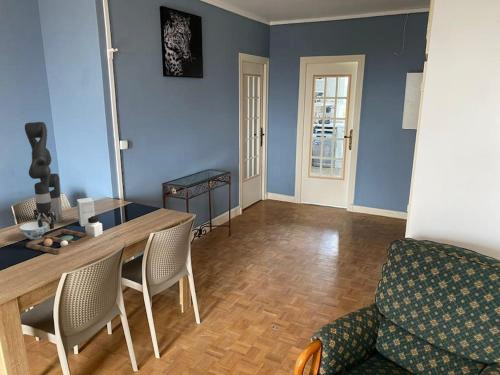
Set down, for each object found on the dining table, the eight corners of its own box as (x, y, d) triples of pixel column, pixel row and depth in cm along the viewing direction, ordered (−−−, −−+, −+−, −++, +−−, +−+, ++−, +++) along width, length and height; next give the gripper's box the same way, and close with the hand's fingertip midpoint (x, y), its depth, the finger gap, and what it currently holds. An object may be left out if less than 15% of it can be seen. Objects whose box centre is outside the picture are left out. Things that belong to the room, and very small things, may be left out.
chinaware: (22, 234, 234) (21, 222, 232) (50, 231, 240) (48, 220, 238) (19, 243, 221) (17, 231, 219) (48, 240, 226) (46, 228, 225)
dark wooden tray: (25, 247, 216) (25, 243, 215) (62, 232, 239) (62, 228, 239) (57, 254, 208) (57, 250, 207) (92, 238, 231) (92, 234, 231)
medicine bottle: (103, 233, 239) (101, 215, 236) (95, 237, 232) (93, 219, 229) (93, 232, 241) (92, 214, 238) (85, 235, 235) (84, 217, 232)
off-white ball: (59, 247, 216) (58, 241, 215) (64, 245, 220) (64, 238, 219) (64, 248, 215) (63, 242, 214) (70, 246, 218) (69, 239, 217)
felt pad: (55, 239, 227) (55, 239, 227) (66, 235, 235) (66, 234, 235) (65, 241, 225) (65, 241, 225) (76, 237, 232) (76, 236, 232)
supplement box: (93, 220, 262) (91, 197, 258) (96, 224, 255) (94, 200, 251) (78, 222, 257) (76, 199, 253) (80, 226, 250) (78, 202, 245)
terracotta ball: (42, 246, 217) (41, 239, 216) (48, 244, 221) (48, 237, 220) (48, 248, 215) (47, 240, 214) (54, 245, 219) (53, 238, 218)
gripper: (27, 200, 210) (31, 228, 214) (47, 203, 206) (50, 231, 209) (39, 197, 217) (42, 224, 221) (58, 200, 212) (61, 227, 216)
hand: (46, 228), depth 215 cm, fingers open, 8 cm apart
